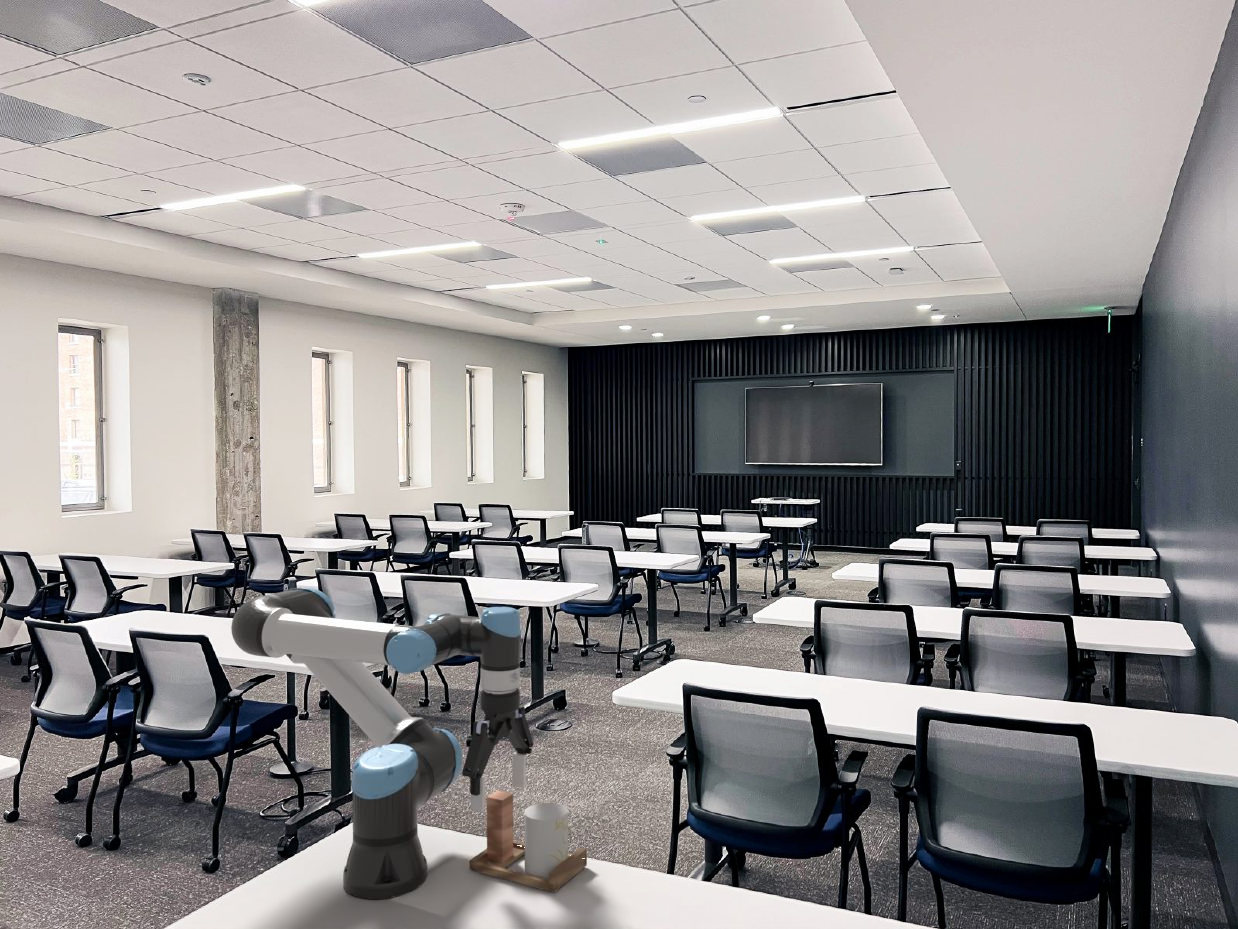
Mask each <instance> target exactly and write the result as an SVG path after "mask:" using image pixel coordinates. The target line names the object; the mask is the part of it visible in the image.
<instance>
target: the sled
mask: <svg viewBox="0 0 1238 929" xmlns="http://www.w3.org/2000/svg"><path fill="white" fill-rule="evenodd" d="M517 845H522V847H520V846H517ZM524 847H525V842H523V841H518V840H515V839H514V794H513V793H511V792H506V791H502V790H497V791H495V792H493V793H491V794H490V795H488V796H487V797H486V849H484V850H483V851H481V852H479V853H478V854H477V855H475V856H474V857H472V858H471V859H469V861H468V862H469V865H468V866H469V871H472V872H473V871H474V872H476V873H481V874H484V875H488V876H491V877H495V878H499V879H502V880H507V881H511V882H515V883H518V884H521V885H525V886H529V887H532V888H536V889H540V890H545V891H548V892H551V893H555V892H556V891H557V890H559V889H560V888H561V887H562V886H564V885H565V884H566V883H567V882H568V881H569V880H571V879H572V878H574V876H576V875H577V874H578V873H579V872H581V871H582V870H583V869H584V868H586V866H587V865H588V861H587V860H588V855H587V854H588V850H587V849H588V848H585V847H582V846H581V847H580V848H579V849H577V850H576V851H574V853H568V858H567V859H566V860H565V861H563V862H562V863H561V864H559V865H558V866H557V867H556V868H554V869H553V870H552V871H550V872H549V873H548V880H547V879H543V878H539V877H535V876H531V875H528V874H525V872H524V873H523V872H519V871H516V870H511V869H509V868H506V867H508V866H510V865H511V864H513V862H515V861H516V860H518V859H519V858H521V857H522V856H523V855H525V848H524ZM570 855H571V856H570ZM582 858H585V859H582Z"/></svg>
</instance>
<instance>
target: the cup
mask: <svg viewBox="0 0 1238 929" xmlns="http://www.w3.org/2000/svg"><path fill="white" fill-rule="evenodd" d="M523 814H524V817H523V818H524V821H523V822H524V829H523V830H524V843H525V854H524V874H528V875H531V876H535V877H539V878H543V879H547V880H548V873H549V872H550V871H552V870H553V869H554V868H556V867H557V866H558V865H559V864H561V863H562V862H563V861H565V860H566V859H567V858H568V854H569V810H568V807H566V806H565V805H564V804H560V803H558V802H557V803H556V802H539V803H535V804H531V805H529V806H527V807H526V808H525V810H524V812H523Z"/></svg>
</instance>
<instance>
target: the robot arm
mask: <svg viewBox="0 0 1238 929" xmlns="http://www.w3.org/2000/svg"><path fill="white" fill-rule="evenodd" d="M334 611H335V607H334V605H333V602H332V600H331V599H330V598H329V597H328V595H326V594H325V593H324V592H323V591H320V590H319V589H317V588H314V587H295V588H290V589H286V590H284V591H280V592H275V593H272V594H266V595H265V594H264V595H260V596H256V597H254V598H251V599H249V600H247V601H246V602H244V603H243V604H241V605H240V607H238V609H237V610H236V612H235V614H234V616H233V618H232V621H231V629H230V630H231V635H232V638H233V640H234V643H235V645H237V647H238V648H239V649H241V650H242V651H243V652H245V653H246V654H249V655H252V656H258V657H266V658H274V659H277V658H281V657H284V656H285V655H286V656H287V657H288V658H289V660H290V661H291V662H292V663H293V664H301V665H302V664H303V665H305V666H306V668H307V669H308V670H309V671H310V672H311V674H313V675H314V677H315V678H316V679H317V680H318V681H319V682H320V683H321V685H322V686H323V687H324V688H325V689H326V691H327V692H329V694H330V695H331V696H332V697H333V698H334V699H335V701H337V703H338V705H340V706H341V707H342V709H344V711H345V712H346V713H347V714H348V715H349V717H351V719H352V721H354V723H356V724H357V726H358V727H359V728H360V729H361V730H362V731H363V732H364V734H366V736H367V738H369V739H370V740H371V742H372V743H373V744H374V745H375V747H374V748H371V749H369V750H367V751H365V752H363V753H362V754H361V755H360V756H358V758H357V759H356V760H355V762H354V763H353V768H352V778H351V783H350V784H351V790H352V792H351V793H352V843H351V846H350V850H349V854H348V856H347V859H346V864H345V866H344V869H343V871H342V872H343V874H342V876H343V880H342V881H343V882H342V886H343V889H344V890H345V892H347V893H348V894H350V895H351V896H354V897H357V898H361V899H366V900H367V899H369V900H381V899H382V900H383V899H390V898H394V897H396V898H397V897H398V896H403V895H406V894H409V893H411V892H412V891H414V890H415V891H416V890H417V889H419V887H421V886H422V885H423V884H424V883H425V882H426V881H427V879H428V860H427V858H426V856H425V854H424V852H423V847H422V845H421V841H420V838H419V834H418V833H419V831H418V810H419V809H418V808H420V807H421V806H423V805H425V804H426V803H428V802H429V801H430V800H431V799H434V798H435V797H436V796H437V795H439V794H441V793H443V792H445V791H447V790H448V788H449V787H450V786H451V785H452V784H453V783H455V781H457V779H458V778H459V776H460V775H462V776H463V777H466V778H469V793H470V811H474V812H478V813H485V811H486V776H484V775H483V774H484V773H485V770H486V768H487V765H488V763H489V760H490V758H491V755H492V753H493V751H494V748H495V746H496V745H497V744H498V743H499V741H500V740H501V739H503V738H504V737H506V738H507V740H508V741H509V742H510V743H509V744H511V746H512V748H513V749H514V751H515V752H512V769H511V770H512V771H511V772H512V773H511V774H512V775H511V776H512V777H511V779H512V780H511V782H512V783H511V786H512V787H516V788H521V789H525V788H526V786H527V784H526V783H527V782H526V781H527V780H526V778H527V777H526V774H527V754H528V755H531V753H532V750H533V749H532V748H533V747H534V745H535V744H534V740H533V737H532V733H531V730H530V728H529V727H530V726H529V725H528V721H527V717H526V708H525V706H523V705H521V704H520V703H521V697H520V696H521V693H520V692H521V691H520V689H519V687H520V685H521V682H520V681H521V674H520V673H521V672H520V671H521V667H520V666H521V636H522V629H521V615H520V612H519V610H518V609H516V608H513V607H509V606H491V607H487V608H485V609H483V610H482V611H481V615H480V616H469V615H460V614H452V613H443V614H442V613H433V614H431V615H429V616H428V617H427V619H426V620H425V621H424V623H423V624H422V625H419V626H418V625H415V626H413V625H402V624H401V625H400V624H394V623H387V622H386V623H384V622H375V621H364V620H356V619H347V618H338V617H336V613H334ZM458 655H459V656H460V655H461V656H470V657H480V680H479V681H480V682H479V683H480V685H479V686H480V688H481V689H482V690H481V691H480V704H479V705H480V707H479V708H480V709H481V710H482V712H484V720H483V721H476V720H475V721H474V723H473V728H472V736H471V739H470V743H469V746H468V749H467V753H466V757H465V761H464V764H463V750H462V746H461V745H460V742H459V741H458V739H457V737H456V736H455V735H454V734H452V732H450V731H448V730H446V729H444V728H441V729H440V728H435V727H433V728H432V726H431V725H430V724H429V723H428V722H427V721H426V720H425V719H424V718H423V717H413V716H411V715H410V713H408V712H407V710H405V708H403V706H402V705H401V704H400V703H399V702H398V701H397V699H396V698H395V697H394V696H393V695H392V694H391V693H390V692H389V691H388V690H387V688H386V687H385V686H384V685H383V684H382V682H381V681H379V679H378V678H377V677H376V676H375V675H374V674H373V673H372V671H370V670H369V669H368V666H366V665H365V664H373V665H374V664H375V665H381V666H382V665H384V666H391V667H392V668H393V669H394V670H395V671H397V673H400V674H403V675H408V674H413V673H419V672H422V671H424V670H426V669H427V668H429V667H431V666H434V665H435V664H438V663H440V662H443V661H445V660H447V659H451V658H452V657H454V656H458ZM364 663H365V664H364ZM462 767H463V768H462ZM461 771H462V772H461Z"/></svg>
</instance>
